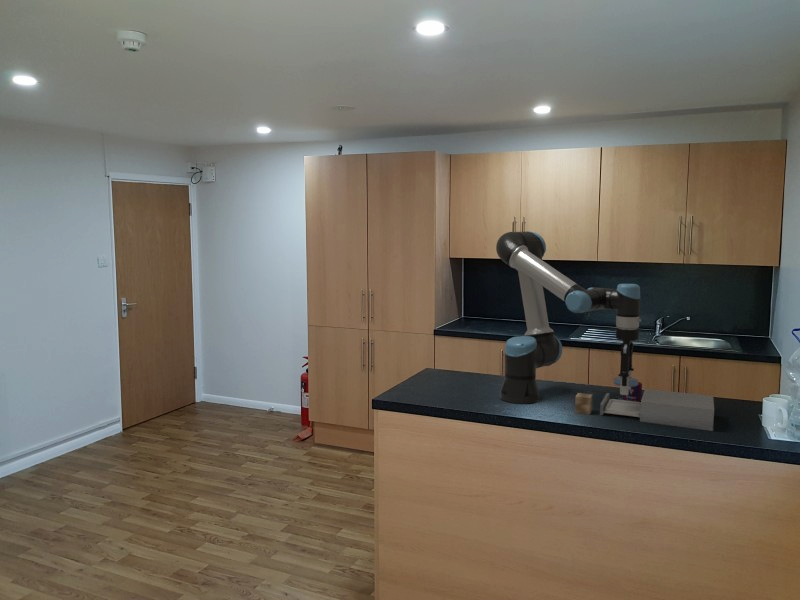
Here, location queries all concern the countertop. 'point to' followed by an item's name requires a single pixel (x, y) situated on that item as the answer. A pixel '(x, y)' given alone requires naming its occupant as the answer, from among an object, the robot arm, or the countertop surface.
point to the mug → (634, 393)
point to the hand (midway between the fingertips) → (625, 391)
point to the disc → (632, 381)
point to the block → (583, 403)
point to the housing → (677, 409)
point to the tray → (619, 407)
